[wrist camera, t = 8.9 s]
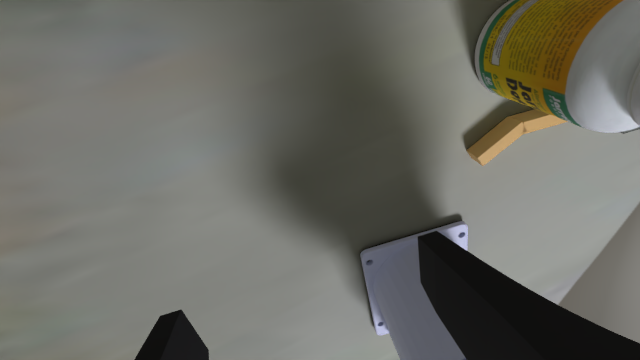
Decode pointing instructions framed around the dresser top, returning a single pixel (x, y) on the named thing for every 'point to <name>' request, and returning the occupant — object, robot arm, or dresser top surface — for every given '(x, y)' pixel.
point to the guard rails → (510, 133)
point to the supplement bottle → (566, 59)
